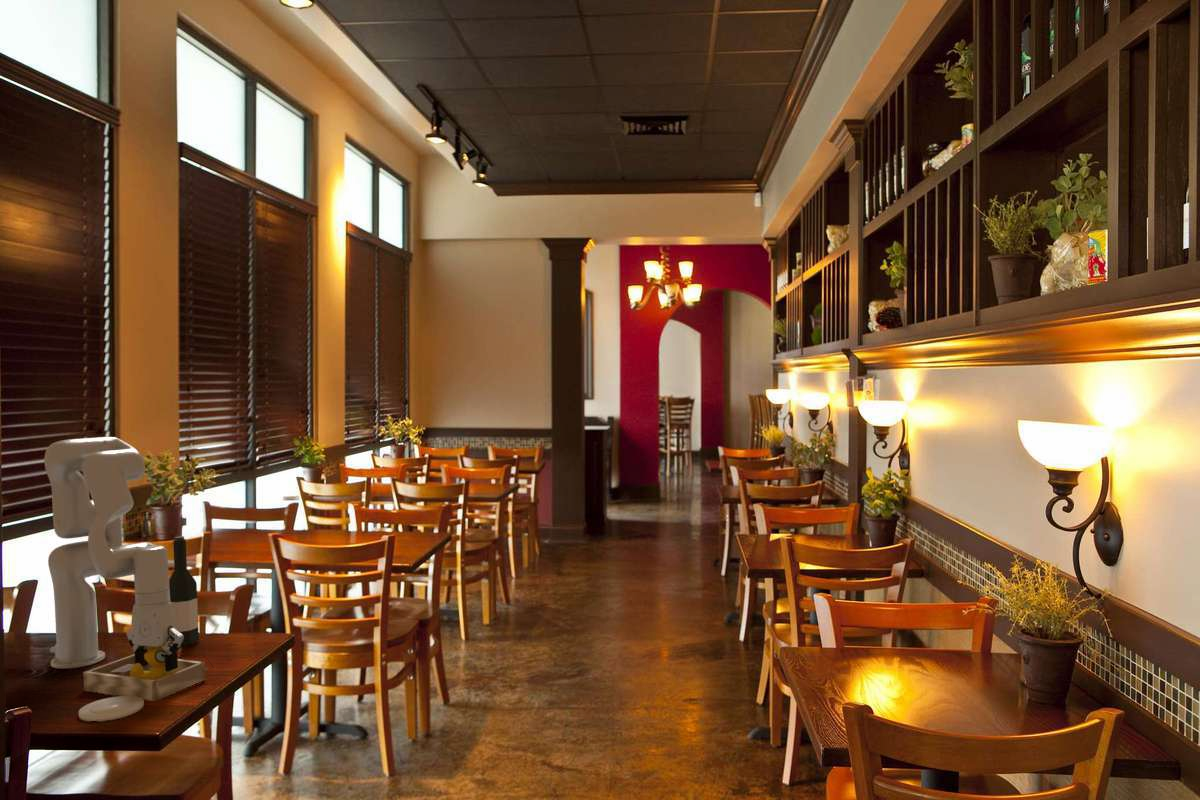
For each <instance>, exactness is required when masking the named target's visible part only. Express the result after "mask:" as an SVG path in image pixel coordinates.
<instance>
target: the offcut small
mask: <svg viewBox="0 0 1200 800" xmlns="http://www.w3.org/2000/svg"><path fill="white" fill-rule="evenodd" d="M133 665H134V664H127V665H124V666H122V667H120V668H118V669H115V670H113V671H111V672H110V674H112V675H120V676H127V677H131V676H130V670H131V668H132V666H133Z"/></svg>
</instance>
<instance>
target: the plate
mask: <svg viewBox="0 0 1200 800" xmlns="http://www.w3.org/2000/svg"><path fill="white" fill-rule="evenodd" d="M144 701H145V700H143V699H142V698H141V697H137V696H112V697H106V698H101V699H98V700H95V701H93V702H90V703H87V704H85V705H83V706H82V707H81V708H80V709H79V710H78V718H79V720H82V721H85V722H91V721H98V722H107V720H108V721H113V720H117V719H122V718H126V717H128V716H132V715H135V714H136V713H138V712H139V711H142V709H143V708H144V706H145V702H144Z"/></svg>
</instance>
